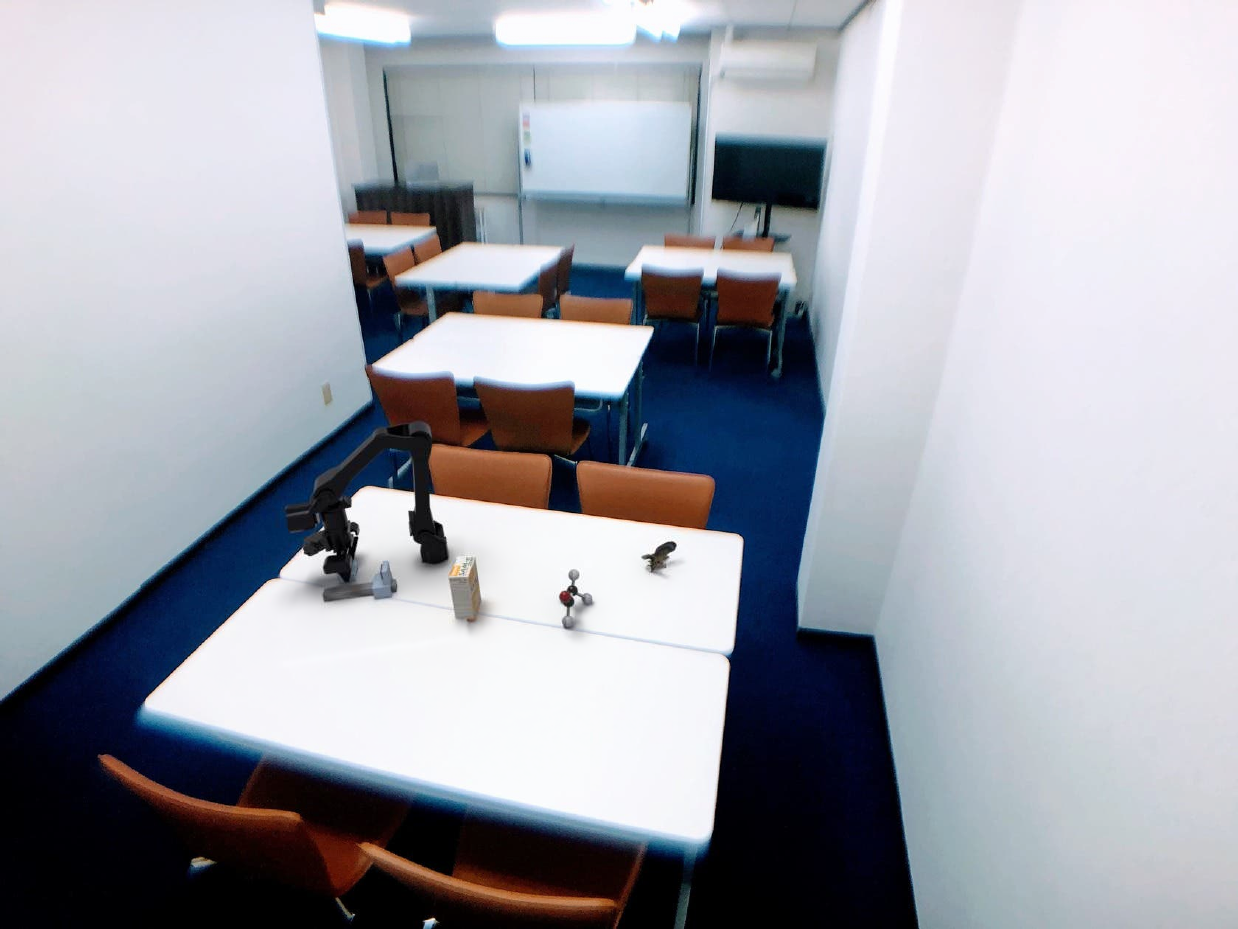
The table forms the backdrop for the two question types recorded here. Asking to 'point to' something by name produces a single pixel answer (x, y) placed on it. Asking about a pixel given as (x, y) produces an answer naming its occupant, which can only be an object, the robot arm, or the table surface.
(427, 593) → the table surface
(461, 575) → the supplement box
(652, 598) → the table surface
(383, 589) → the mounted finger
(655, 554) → the grey brown irregular piece
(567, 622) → the molecular model
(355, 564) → the notched blue block
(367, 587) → the rail board
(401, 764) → the table surface
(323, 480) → the robot arm
